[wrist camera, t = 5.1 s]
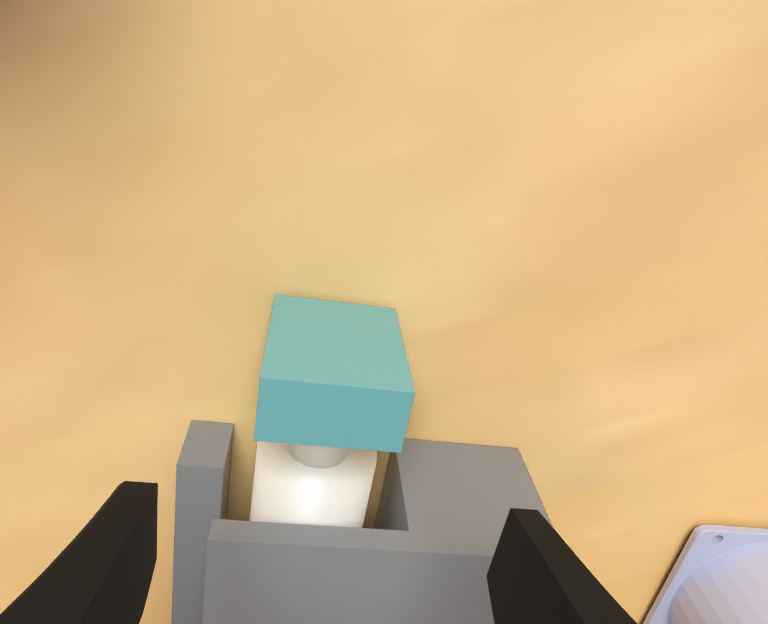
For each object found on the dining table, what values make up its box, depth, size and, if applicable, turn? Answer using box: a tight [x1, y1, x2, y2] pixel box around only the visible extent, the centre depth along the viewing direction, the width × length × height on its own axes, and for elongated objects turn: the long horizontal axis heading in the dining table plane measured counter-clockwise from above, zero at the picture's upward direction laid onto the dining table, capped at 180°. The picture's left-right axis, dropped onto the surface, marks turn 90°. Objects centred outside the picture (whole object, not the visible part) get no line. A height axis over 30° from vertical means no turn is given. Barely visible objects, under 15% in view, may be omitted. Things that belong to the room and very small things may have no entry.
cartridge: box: [249, 294, 415, 528], centre depth 21 cm, size 4×16×5 cm, turn 170°
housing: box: [172, 420, 553, 624], centre depth 23 cm, size 12×12×5 cm
